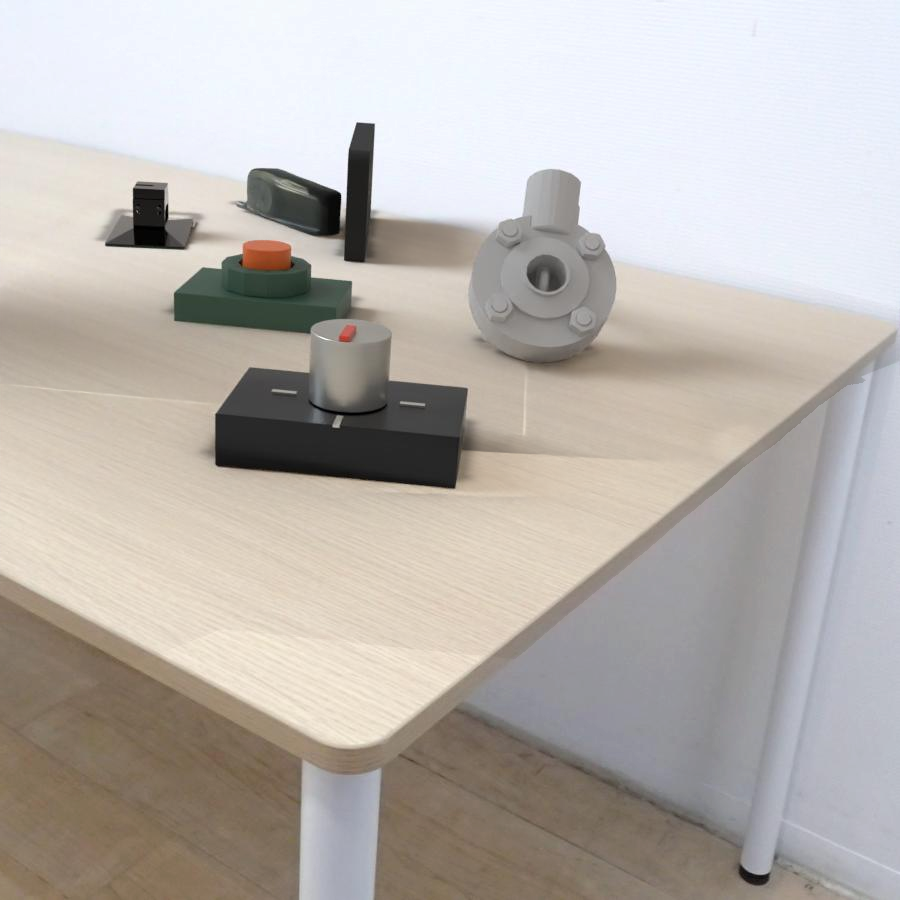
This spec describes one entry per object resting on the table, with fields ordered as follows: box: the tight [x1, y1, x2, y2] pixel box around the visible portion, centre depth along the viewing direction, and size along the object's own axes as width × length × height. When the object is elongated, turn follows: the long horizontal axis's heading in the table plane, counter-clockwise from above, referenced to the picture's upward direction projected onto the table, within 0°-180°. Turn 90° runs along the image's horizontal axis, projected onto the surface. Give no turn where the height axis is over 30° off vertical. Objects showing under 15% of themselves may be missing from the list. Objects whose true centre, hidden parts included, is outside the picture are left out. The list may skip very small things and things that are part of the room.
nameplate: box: [343, 121, 376, 262], centre depth 115 cm, size 21×2×10 cm, turn 2°
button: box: [242, 239, 292, 270], centre depth 88 cm, size 4×4×2 cm
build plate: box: [104, 181, 197, 251], centre depth 111 cm, size 12×7×5 cm, turn 8°
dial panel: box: [214, 366, 469, 490], centre depth 66 cm, size 13×9×3 cm, turn 86°
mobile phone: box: [236, 167, 342, 237], centre depth 120 cm, size 5×3×15 cm
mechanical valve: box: [467, 168, 617, 364], centre depth 91 cm, size 10×18×15 cm
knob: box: [308, 318, 393, 413], centre depth 65 cm, size 4×4×4 cm
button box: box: [173, 253, 353, 334], centre depth 89 cm, size 12×8×4 cm, turn 86°
